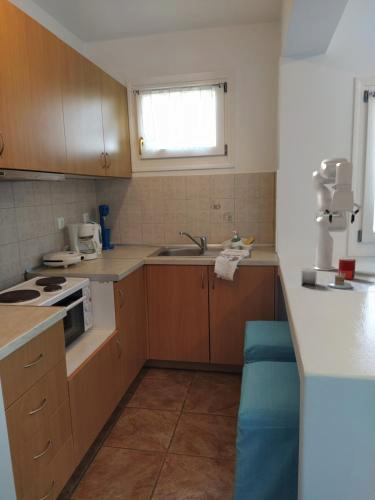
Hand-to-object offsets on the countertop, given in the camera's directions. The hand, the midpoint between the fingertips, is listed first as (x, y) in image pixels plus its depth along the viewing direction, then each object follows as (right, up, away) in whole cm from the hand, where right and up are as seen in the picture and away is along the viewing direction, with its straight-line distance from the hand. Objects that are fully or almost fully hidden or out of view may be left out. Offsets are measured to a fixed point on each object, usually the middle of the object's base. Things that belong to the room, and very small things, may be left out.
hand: (341, 223), depth 182 cm
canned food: (+8, -29, +13) cm, 33 cm away
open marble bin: (-16, -31, 0) cm, 35 cm away
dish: (-2, -31, -3) cm, 31 cm away
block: (-3, -30, -4) cm, 30 cm away
